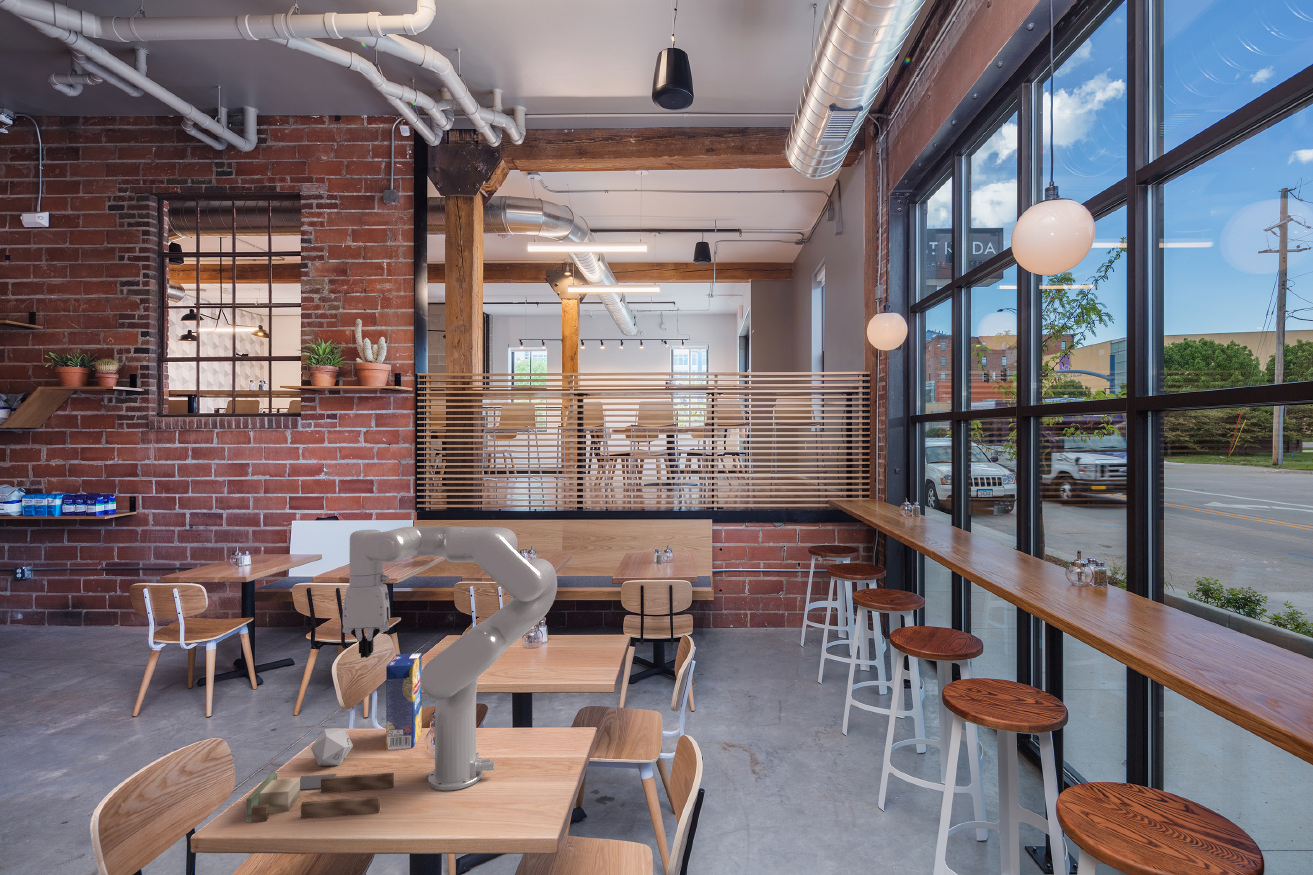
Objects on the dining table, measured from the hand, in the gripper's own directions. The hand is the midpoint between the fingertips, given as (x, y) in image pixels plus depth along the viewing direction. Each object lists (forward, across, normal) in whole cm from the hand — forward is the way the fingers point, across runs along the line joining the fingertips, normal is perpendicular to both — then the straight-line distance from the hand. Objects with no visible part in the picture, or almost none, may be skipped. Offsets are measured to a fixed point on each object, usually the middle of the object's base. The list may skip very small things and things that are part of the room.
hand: (366, 655), depth 160 cm
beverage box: (+29, -4, -20) cm, 36 cm away
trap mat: (+29, +12, +2) cm, 31 cm away
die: (+29, +11, -9) cm, 33 cm away
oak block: (+29, +15, +11) cm, 35 cm away
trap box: (+29, +5, +12) cm, 32 cm away
